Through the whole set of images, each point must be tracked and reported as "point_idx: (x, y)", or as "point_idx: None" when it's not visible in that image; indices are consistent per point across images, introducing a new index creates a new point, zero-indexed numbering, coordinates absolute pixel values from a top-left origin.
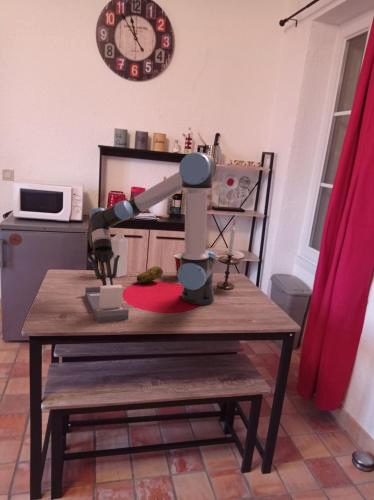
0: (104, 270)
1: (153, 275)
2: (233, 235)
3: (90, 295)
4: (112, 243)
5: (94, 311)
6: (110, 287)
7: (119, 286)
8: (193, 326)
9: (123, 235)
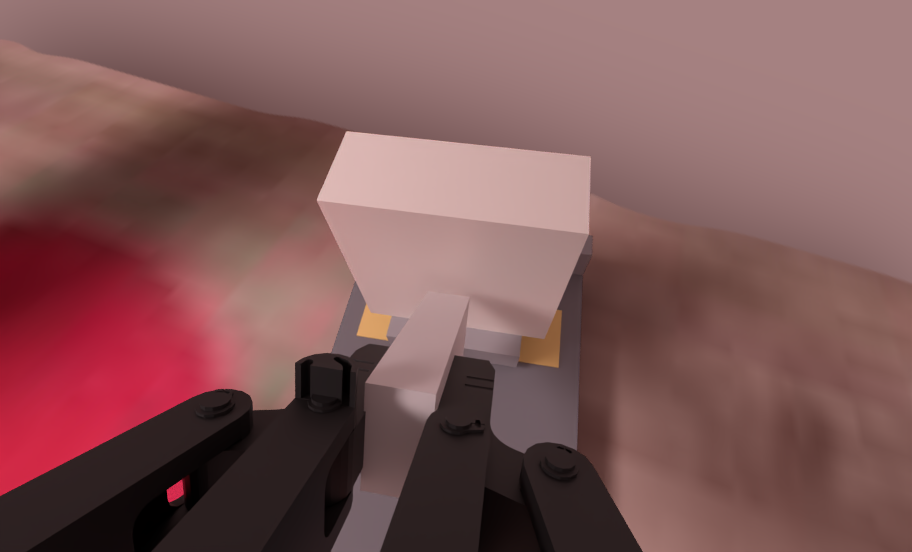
0: (393, 543)
1: None
2: None
3: None
4: None
5: (579, 342)
6: (479, 161)
7: (366, 159)
8: (144, 97)
9: None
